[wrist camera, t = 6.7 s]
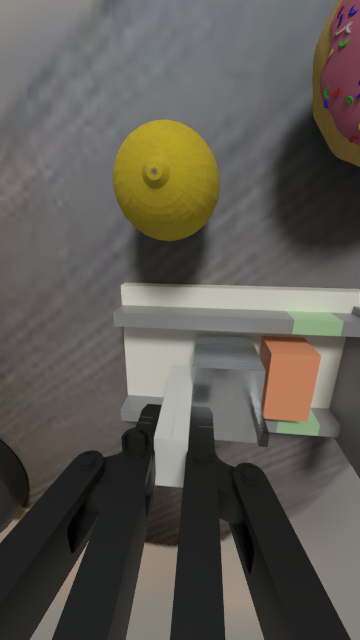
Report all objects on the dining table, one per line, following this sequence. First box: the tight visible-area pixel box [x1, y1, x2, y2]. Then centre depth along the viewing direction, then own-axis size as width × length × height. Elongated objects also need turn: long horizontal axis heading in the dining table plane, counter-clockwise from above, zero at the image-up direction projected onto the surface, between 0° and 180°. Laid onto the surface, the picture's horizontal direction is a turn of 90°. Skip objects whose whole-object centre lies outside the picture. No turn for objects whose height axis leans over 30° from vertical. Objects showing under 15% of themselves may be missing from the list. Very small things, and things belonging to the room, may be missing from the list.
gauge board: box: [113, 283, 360, 478], centre depth 18 cm, size 18×12×7 cm, turn 90°
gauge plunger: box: [192, 334, 269, 447], centre depth 16 cm, size 4×5×7 cm
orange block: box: [259, 336, 321, 422], centre depth 18 cm, size 3×5×3 cm, turn 179°
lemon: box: [113, 120, 220, 241], centre depth 14 cm, size 6×6×8 cm
